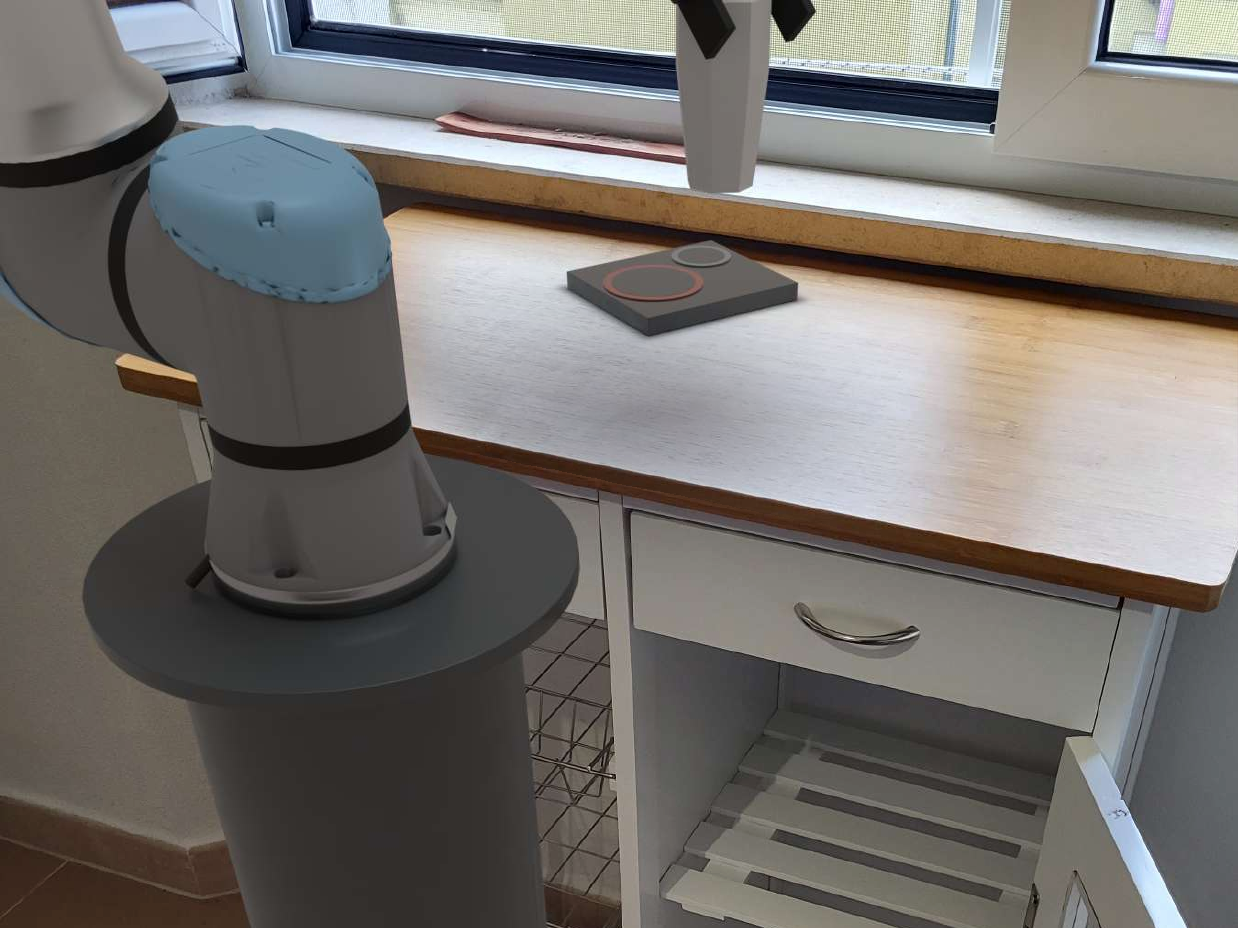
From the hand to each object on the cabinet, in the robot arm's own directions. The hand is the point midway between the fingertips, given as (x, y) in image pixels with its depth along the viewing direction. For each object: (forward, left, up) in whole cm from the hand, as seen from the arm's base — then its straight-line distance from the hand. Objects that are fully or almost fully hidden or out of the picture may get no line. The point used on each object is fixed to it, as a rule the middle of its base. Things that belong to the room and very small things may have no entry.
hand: (761, 35), depth 90 cm
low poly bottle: (-1, +3, -10) cm, 10 cm away
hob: (+12, +27, -26) cm, 39 cm away
